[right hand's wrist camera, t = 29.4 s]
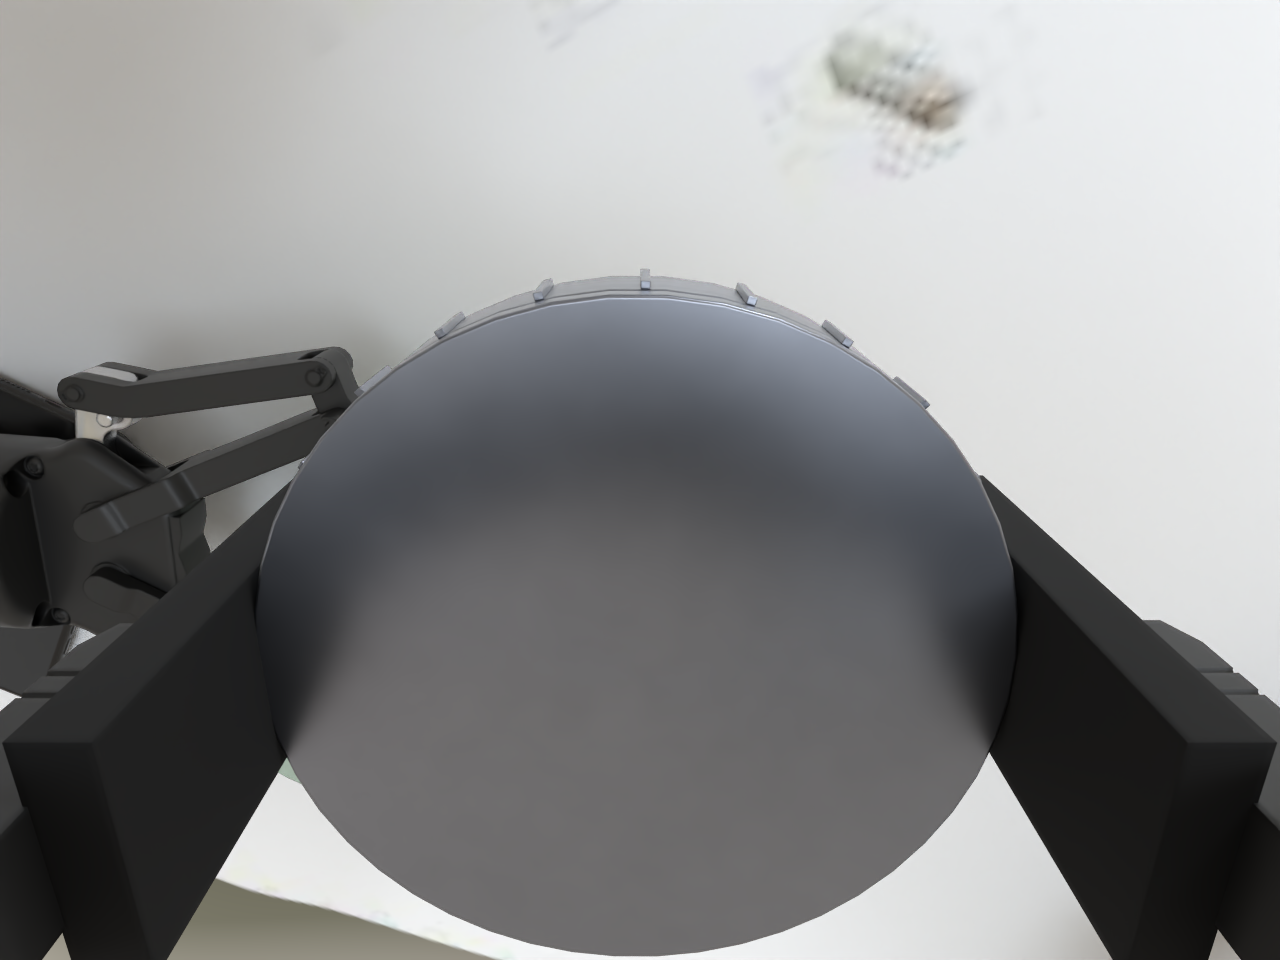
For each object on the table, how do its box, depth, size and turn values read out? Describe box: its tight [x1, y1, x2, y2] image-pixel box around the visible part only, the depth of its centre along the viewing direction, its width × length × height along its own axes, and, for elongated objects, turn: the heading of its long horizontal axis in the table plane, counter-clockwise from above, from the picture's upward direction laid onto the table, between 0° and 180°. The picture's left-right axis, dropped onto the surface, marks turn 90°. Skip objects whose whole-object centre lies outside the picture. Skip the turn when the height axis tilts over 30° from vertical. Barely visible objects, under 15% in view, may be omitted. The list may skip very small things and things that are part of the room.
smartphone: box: [0, 377, 132, 697], centre depth 40 cm, size 8×1×16 cm
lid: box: [255, 269, 1018, 956], centre depth 11 cm, size 9×9×2 cm
